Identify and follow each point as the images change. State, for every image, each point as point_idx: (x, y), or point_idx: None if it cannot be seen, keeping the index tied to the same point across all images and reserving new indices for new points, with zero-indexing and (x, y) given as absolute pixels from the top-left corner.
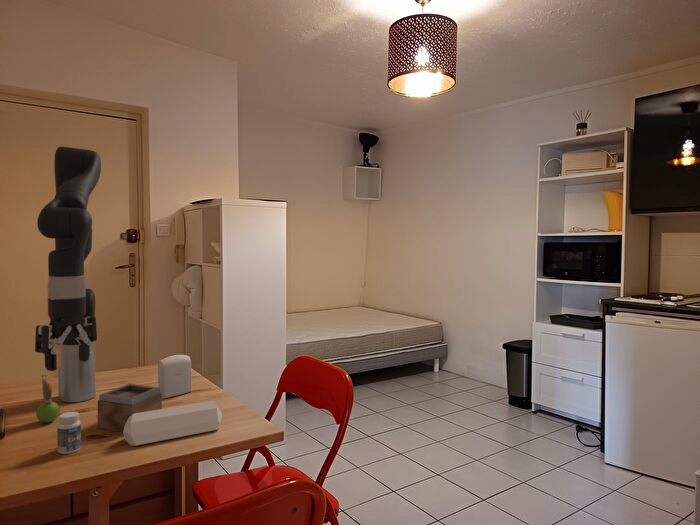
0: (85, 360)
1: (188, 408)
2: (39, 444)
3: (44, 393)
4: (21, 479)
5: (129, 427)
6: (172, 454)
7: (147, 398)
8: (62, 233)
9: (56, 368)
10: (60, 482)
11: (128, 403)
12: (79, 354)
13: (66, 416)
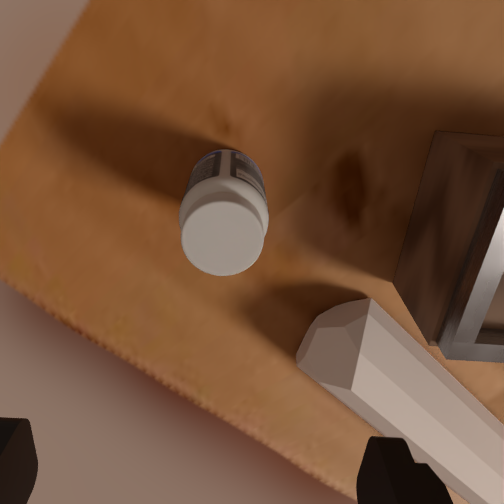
0: (358, 493)
1: (448, 478)
2: (234, 25)
3: None
4: (17, 204)
5: (311, 370)
6: (280, 440)
7: None
8: None
9: (31, 489)
10: (59, 311)
11: (442, 332)
12: (390, 496)
13: (197, 248)
